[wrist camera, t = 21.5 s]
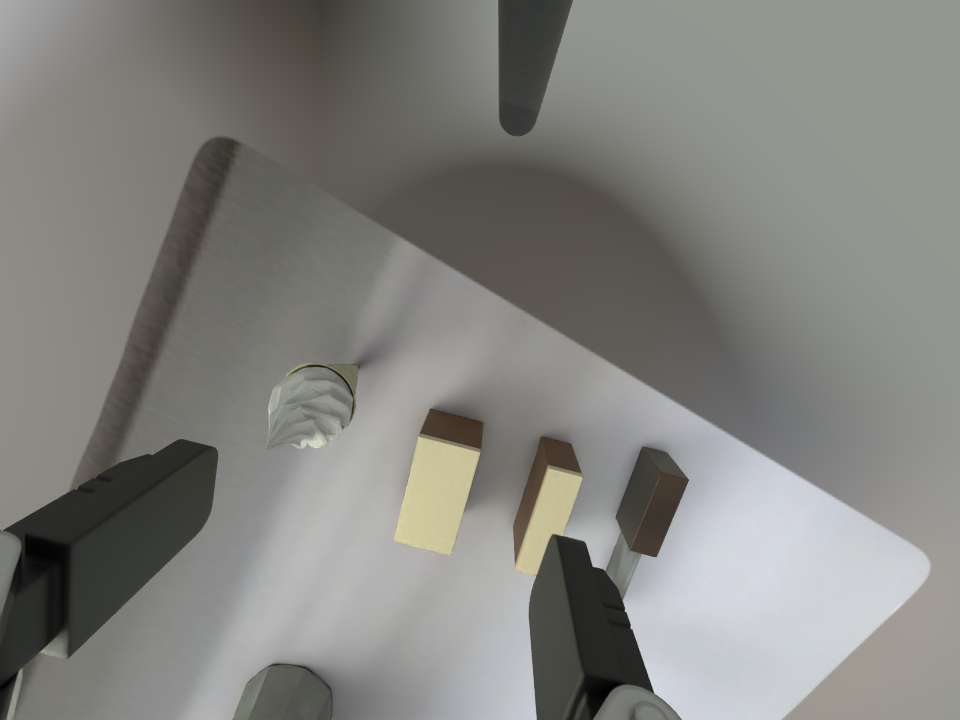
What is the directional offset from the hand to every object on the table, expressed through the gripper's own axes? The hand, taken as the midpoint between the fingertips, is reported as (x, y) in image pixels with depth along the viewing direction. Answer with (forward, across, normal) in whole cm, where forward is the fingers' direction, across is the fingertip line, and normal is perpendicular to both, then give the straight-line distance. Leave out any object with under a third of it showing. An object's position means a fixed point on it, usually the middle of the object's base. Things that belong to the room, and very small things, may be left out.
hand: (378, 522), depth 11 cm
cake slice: (+26, -10, +12) cm, 30 cm away
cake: (+26, -1, +12) cm, 29 cm away
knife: (+26, -18, +14) cm, 35 cm away
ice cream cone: (+26, +8, +6) cm, 28 cm away
